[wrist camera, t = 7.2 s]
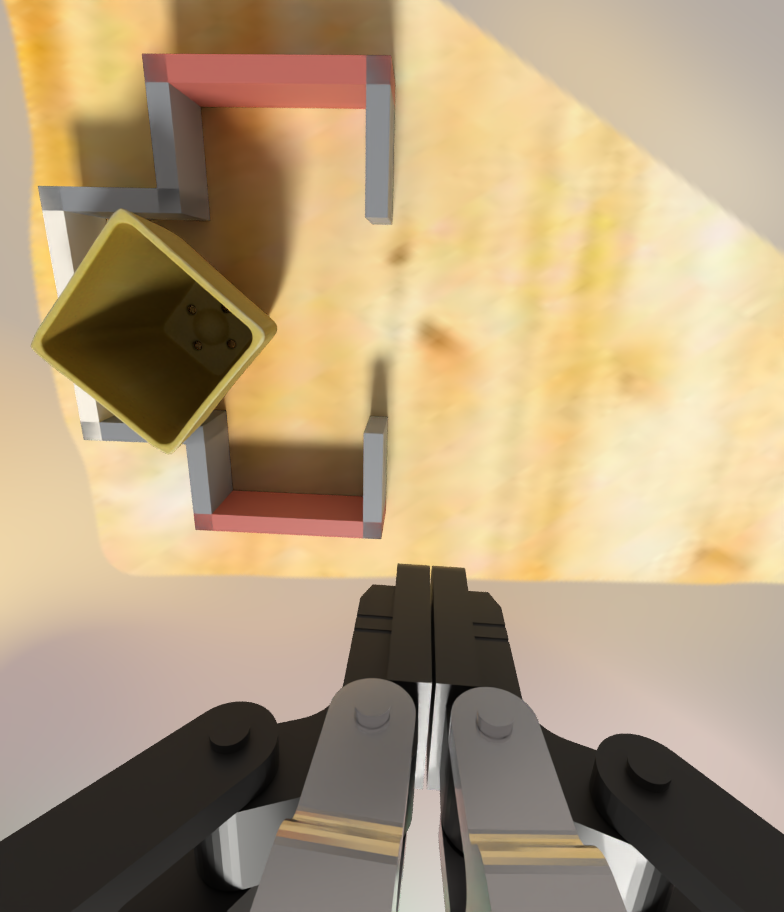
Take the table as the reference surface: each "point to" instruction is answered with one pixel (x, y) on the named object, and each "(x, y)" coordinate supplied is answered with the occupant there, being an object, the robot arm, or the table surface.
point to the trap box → (186, 198)
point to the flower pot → (151, 330)
